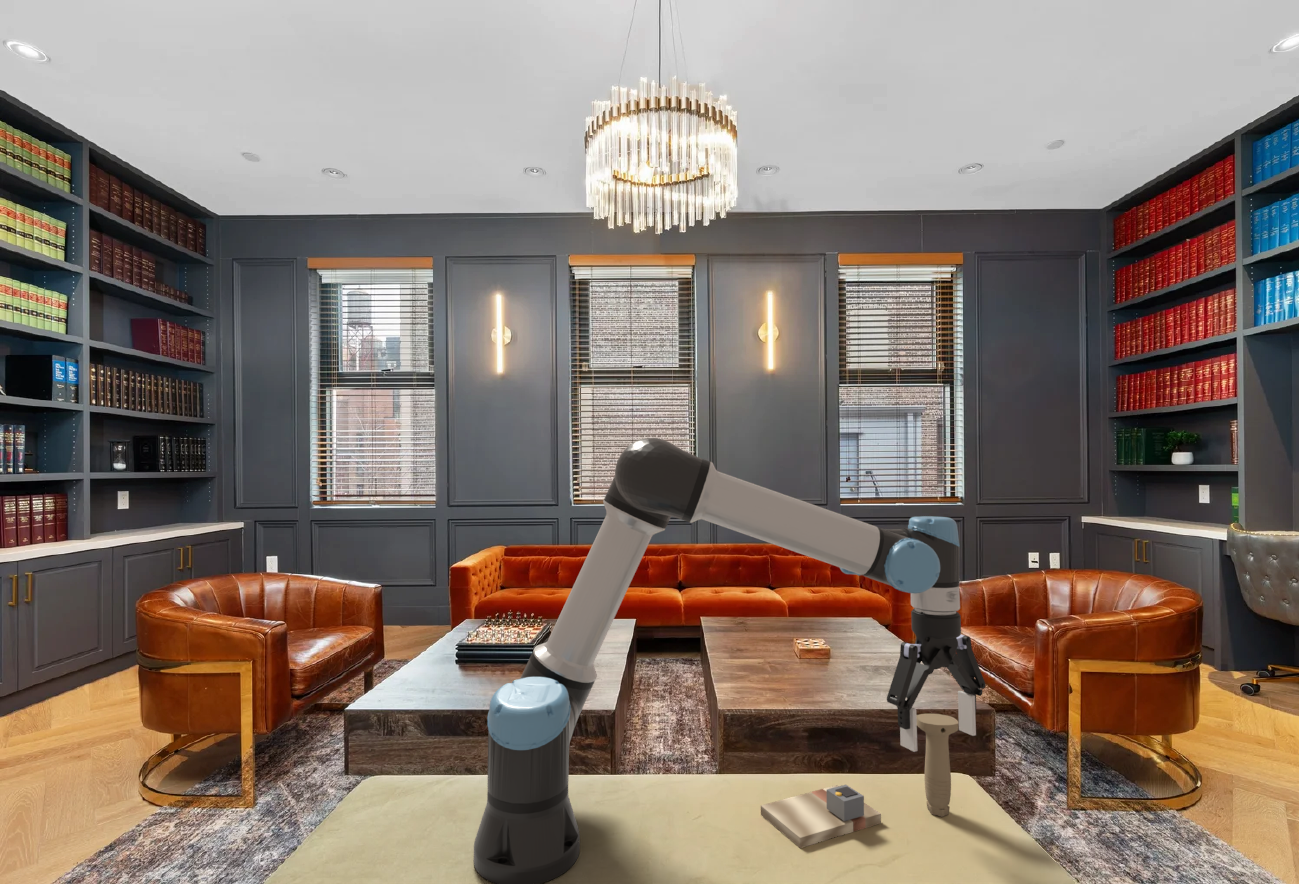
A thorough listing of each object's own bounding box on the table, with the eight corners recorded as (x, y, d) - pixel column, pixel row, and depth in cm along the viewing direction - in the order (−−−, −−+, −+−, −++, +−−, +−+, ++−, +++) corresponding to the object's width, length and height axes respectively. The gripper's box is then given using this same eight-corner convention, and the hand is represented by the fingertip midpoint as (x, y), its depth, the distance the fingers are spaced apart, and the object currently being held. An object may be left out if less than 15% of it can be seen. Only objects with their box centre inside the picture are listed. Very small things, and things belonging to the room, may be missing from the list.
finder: (844, 821, 98) (844, 800, 98) (826, 808, 101) (826, 788, 101) (863, 815, 99) (863, 794, 99) (845, 803, 103) (845, 783, 103)
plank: (800, 848, 94) (800, 837, 94) (760, 814, 103) (760, 805, 103) (881, 823, 100) (880, 813, 100) (837, 793, 109) (837, 784, 109)
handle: (964, 820, 101) (963, 725, 102) (924, 819, 101) (922, 724, 102) (951, 804, 106) (950, 713, 107) (912, 804, 106) (911, 713, 107)
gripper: (897, 622, 96) (901, 764, 95) (1006, 607, 107) (1010, 734, 106) (861, 613, 103) (864, 745, 102) (967, 599, 114) (970, 718, 113)
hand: (938, 740), depth 104 cm, fingers open, 13 cm apart
